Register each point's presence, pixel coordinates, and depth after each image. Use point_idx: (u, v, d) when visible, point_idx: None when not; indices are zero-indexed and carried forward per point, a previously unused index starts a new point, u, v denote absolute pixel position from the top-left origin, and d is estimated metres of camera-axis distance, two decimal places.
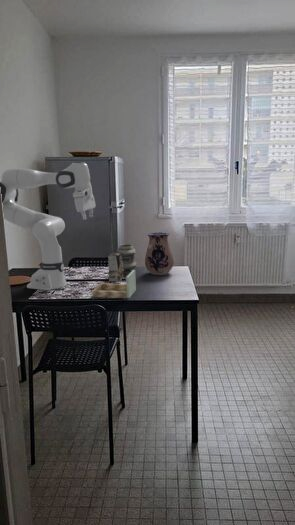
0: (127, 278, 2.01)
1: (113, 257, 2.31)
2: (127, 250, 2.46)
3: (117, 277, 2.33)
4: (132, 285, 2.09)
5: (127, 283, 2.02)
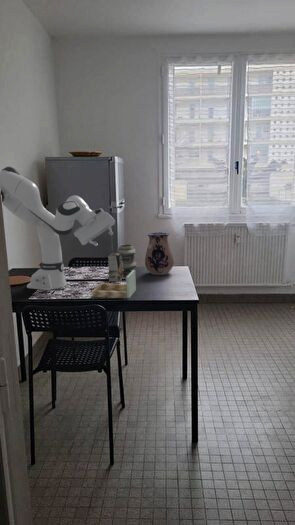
0: (127, 278, 2.01)
1: (113, 257, 2.31)
2: (127, 250, 2.46)
3: (117, 277, 2.33)
4: (132, 285, 2.09)
5: (127, 283, 2.02)
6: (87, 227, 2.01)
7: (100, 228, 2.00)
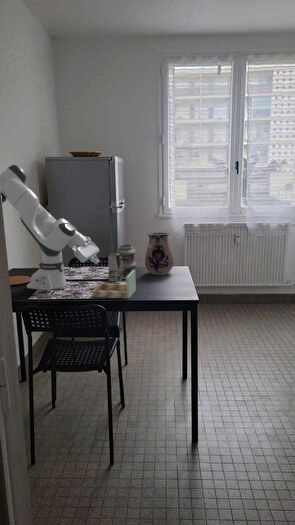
0: (127, 278, 2.01)
1: (113, 257, 2.31)
2: (127, 250, 2.46)
3: (117, 277, 2.33)
4: (132, 285, 2.09)
5: (127, 283, 2.02)
6: (84, 248, 2.06)
7: (94, 252, 2.11)
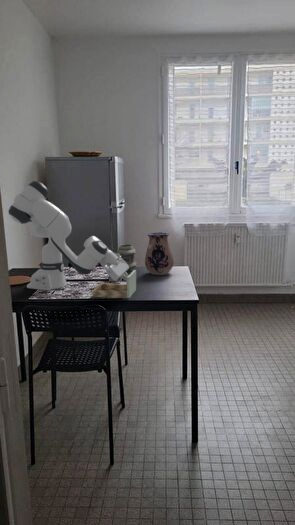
0: (128, 278, 2.01)
1: None
2: (127, 250, 2.46)
3: None
4: (132, 285, 2.09)
5: (128, 283, 2.02)
6: (115, 266, 2.05)
7: (125, 270, 2.09)
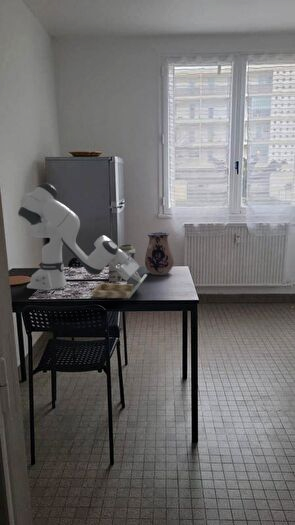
0: (139, 282, 2.00)
1: None
2: (127, 250, 2.46)
3: (117, 277, 2.33)
4: (137, 287, 2.09)
5: (136, 286, 2.01)
6: (126, 265, 2.04)
7: (135, 269, 2.08)
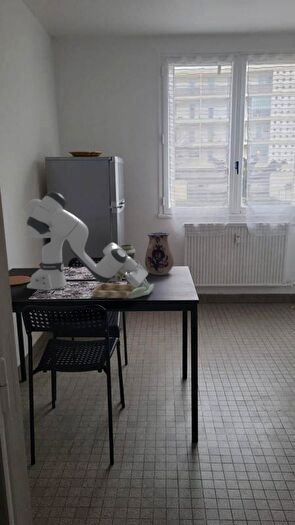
0: (147, 293, 2.01)
1: None
2: (127, 250, 2.46)
3: (117, 277, 2.33)
4: None
5: (142, 294, 2.02)
6: (135, 272, 2.04)
7: (144, 276, 2.08)
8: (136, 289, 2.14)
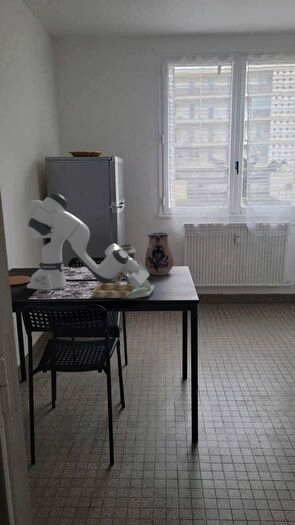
0: (147, 294, 2.01)
1: None
2: (127, 250, 2.46)
3: (117, 277, 2.33)
4: None
5: (142, 295, 2.02)
6: (137, 273, 2.04)
7: (145, 277, 2.08)
8: (136, 289, 2.14)
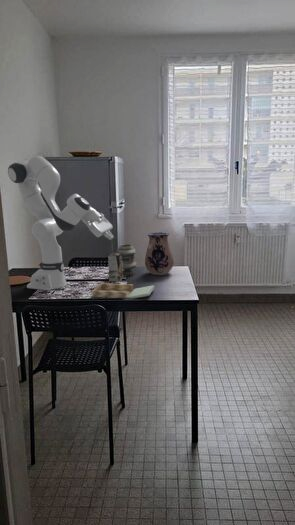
0: (147, 294, 2.01)
1: (113, 257, 2.31)
2: (127, 250, 2.46)
3: (117, 277, 2.33)
4: None
5: (142, 295, 2.02)
6: (98, 223, 2.06)
7: (108, 228, 2.11)
8: (136, 289, 2.14)
